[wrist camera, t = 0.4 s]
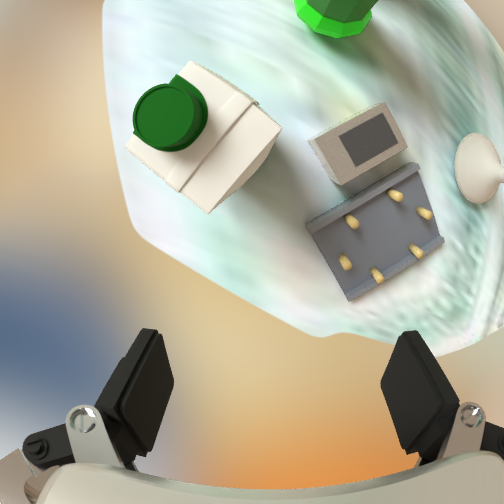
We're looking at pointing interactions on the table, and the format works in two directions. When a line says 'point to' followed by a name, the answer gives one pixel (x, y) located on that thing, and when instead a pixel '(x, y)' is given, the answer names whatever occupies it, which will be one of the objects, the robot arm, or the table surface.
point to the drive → (358, 143)
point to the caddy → (377, 231)
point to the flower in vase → (477, 168)
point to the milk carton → (201, 135)
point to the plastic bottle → (335, 16)
